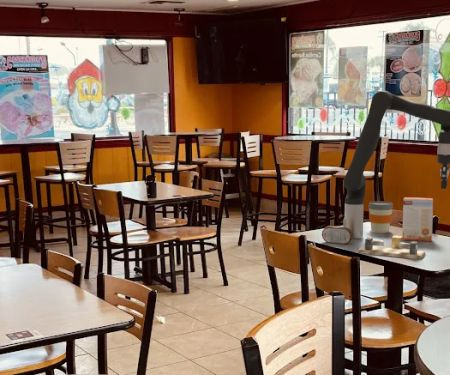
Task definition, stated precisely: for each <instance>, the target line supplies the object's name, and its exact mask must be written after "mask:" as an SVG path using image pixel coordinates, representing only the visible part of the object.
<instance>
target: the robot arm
mask: <svg viewBox="0 0 450 375" xmlns="http://www.w3.org/2000/svg"><path fill="white" fill-rule="evenodd" d="M388 110H389V111H397V112H401V113H405V114H407V115H409V116H412V117H414V118H415V117H416V118H418V119H422V120H425V121H431V122H432V123H436V124H438V125H440V131H439V133H438V142H437V143H438V144H437V151H436V152H437V154H436V155H437V157H436V163H437V164H442V166H440V169H439V171H440V175H439V176H440V180H441V183H440V189H441V190H442V189H443V190H445V189H446V190H447V187H448V179H449V175H450V109H447V110H446V109H442V108H438V107H435V106H434V105H432V104H431V105H430V104H426V103H423V102H419V101H414V100H409V99H405V98H402V97H400V96H398V95H396V94H393V93H391V92H390V91H388V90H379V91H377V92H375V93H374V94H373V95H372V97H371V100H370V106H369V109H368V114H367V117H366V120H365V122H364V124H363V127H362V130H361V131H360V135H359V138H358V140H357V144H356V147H355V150H354V152H353V157H352V161H351V162H350V165H349V167H348V169H347V172H346V174H345V175H344V178H343V186H344V187H345V189H346V190H347V192H346V196H345V198H344V218H343V219H342V220H343V221H342V223H343V225H342V227H347V228H349V229H350V230H351V231H352V233H353V239H352V240H354V239H355V240H357V239H363V238H364V202H365V197H366V182H367V180H366V177H365V175H364V172H365V169H366V166H367V164H368V163H369V161H370V159H371V158H372V157H373V154H375V151H376V149H377V146H378V143H379V140H380V135H381V128H382V122H383V118H384V117H385V114H386V112H387V111H388Z"/></svg>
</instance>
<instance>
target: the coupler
mask: <svg viewBox="0 0 450 375" xmlns="http://www.w3.org/2000/svg"><path fill="white" fill-rule="evenodd" d="M400 242H403V243H404V240H403V235H397V234H396V235H395V234H394V235H393V236H391V248H395V249H404V248H400V247H399V243H400Z"/></svg>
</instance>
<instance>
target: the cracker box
mask: <svg viewBox="0 0 450 375" xmlns="http://www.w3.org/2000/svg"><path fill="white" fill-rule="evenodd" d="M402 205H403V207H402V208H403V209H402V236H403V241H416V242H418V241H421V242H432V240H433V212H434V198H433V197H431V198H430V197H413V196H412V197H411V196H410V197H403V204H402Z"/></svg>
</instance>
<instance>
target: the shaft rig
mask: <svg viewBox="0 0 450 375" xmlns="http://www.w3.org/2000/svg"><path fill="white" fill-rule="evenodd" d="M373 238H374V237H366V238H365V239H364V245H363V246H362V247H360V248H358V249H357V253H358V254H363V253H366V254H365V255H374V256H375V255H376V256H385V257H394V258H395V257H396V258H403V259H404V258H406V259H413V260H414V259H415V260H422V259H423V258H424V257H425V256H426V251H425V250H418V249H419V248H418V246H419V245H418V241H415V240H411V242H410V243H407V242H404V241H403V242H400V243H399V247H400V248H403V249H395V248H392V247H384V246H385V245H384V244H385V240H376V239H375V240H374V239H373Z"/></svg>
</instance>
